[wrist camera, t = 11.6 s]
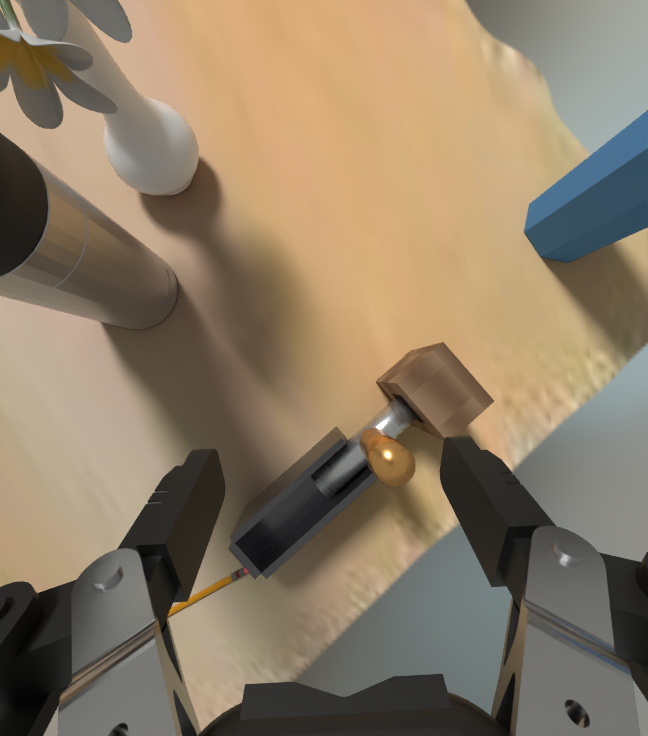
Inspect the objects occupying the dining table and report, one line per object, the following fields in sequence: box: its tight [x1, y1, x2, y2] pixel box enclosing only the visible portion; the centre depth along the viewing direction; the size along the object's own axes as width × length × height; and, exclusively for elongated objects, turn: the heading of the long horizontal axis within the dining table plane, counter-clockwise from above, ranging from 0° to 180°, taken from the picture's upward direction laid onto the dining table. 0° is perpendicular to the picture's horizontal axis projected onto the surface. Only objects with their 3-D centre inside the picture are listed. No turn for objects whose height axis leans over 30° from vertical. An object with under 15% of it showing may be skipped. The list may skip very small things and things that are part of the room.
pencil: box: [167, 568, 248, 617], centre depth 34 cm, size 19×1×1 cm
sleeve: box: [228, 427, 377, 579], centre depth 32 cm, size 15×5×6 cm, turn 131°
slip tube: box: [311, 395, 419, 498], centre depth 27 cm, size 16×3×11 cm, turn 131°
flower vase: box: [0, 0, 199, 195], centre depth 23 cm, size 13×18×25 cm
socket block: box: [376, 342, 494, 440], centre depth 31 cm, size 6×7×9 cm
